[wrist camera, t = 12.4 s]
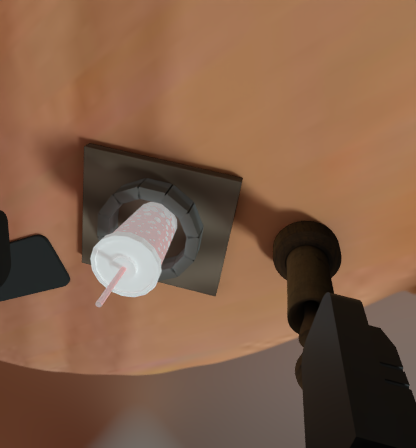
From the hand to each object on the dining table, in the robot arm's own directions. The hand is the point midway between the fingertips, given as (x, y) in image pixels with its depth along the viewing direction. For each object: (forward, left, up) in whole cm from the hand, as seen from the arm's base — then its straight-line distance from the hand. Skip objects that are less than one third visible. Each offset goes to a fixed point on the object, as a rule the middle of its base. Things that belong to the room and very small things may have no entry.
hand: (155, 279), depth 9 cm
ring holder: (+14, -7, -28) cm, 32 cm away
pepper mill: (+13, +9, -28) cm, 32 cm away
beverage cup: (+13, -7, -27) cm, 31 cm away
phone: (+26, -25, -29) cm, 46 cm away
